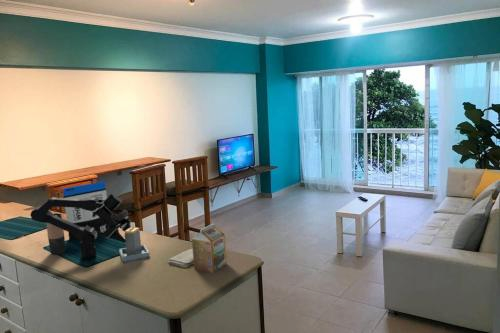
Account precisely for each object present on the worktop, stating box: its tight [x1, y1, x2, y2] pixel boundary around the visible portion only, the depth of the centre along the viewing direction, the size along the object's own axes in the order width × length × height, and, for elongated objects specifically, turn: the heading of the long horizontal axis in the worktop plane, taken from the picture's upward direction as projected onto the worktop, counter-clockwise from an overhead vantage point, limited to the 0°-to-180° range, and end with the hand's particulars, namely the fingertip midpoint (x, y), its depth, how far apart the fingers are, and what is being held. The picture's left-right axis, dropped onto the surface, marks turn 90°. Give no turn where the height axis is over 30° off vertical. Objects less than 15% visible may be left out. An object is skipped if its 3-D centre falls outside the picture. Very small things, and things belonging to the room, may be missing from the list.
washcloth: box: [168, 248, 194, 269], centre depth 197 cm, size 12×18×3 cm, turn 147°
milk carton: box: [191, 223, 228, 274], centre depth 186 cm, size 11×11×19 cm
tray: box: [118, 244, 150, 263], centre depth 206 cm, size 13×13×3 cm
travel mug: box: [45, 213, 67, 256], centre depth 214 cm, size 8×8×20 cm
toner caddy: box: [124, 226, 142, 256], centre depth 205 cm, size 5×6×14 cm
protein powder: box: [62, 180, 109, 241], centre depth 241 cm, size 10×24×30 cm, turn 132°
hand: (129, 238), depth 205 cm, fingers open, 9 cm apart
